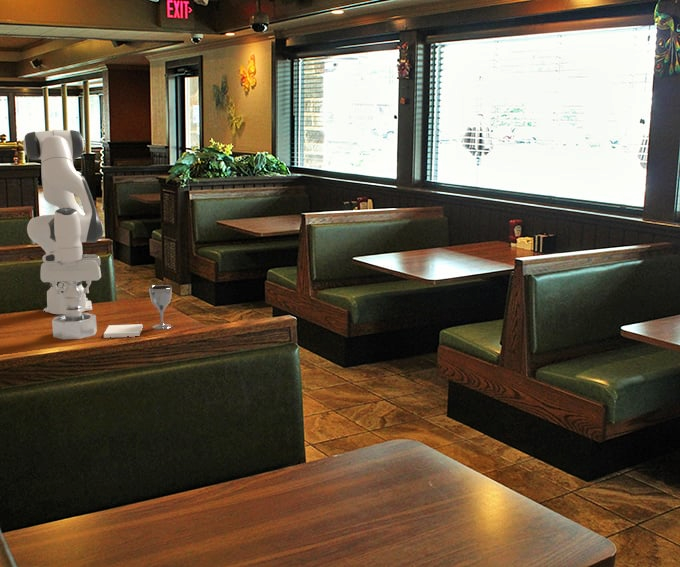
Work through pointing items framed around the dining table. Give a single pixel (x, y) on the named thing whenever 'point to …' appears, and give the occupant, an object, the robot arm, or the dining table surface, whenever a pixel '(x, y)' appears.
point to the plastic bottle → (72, 301)
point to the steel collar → (74, 327)
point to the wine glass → (161, 301)
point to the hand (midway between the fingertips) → (72, 293)
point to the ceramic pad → (123, 330)
